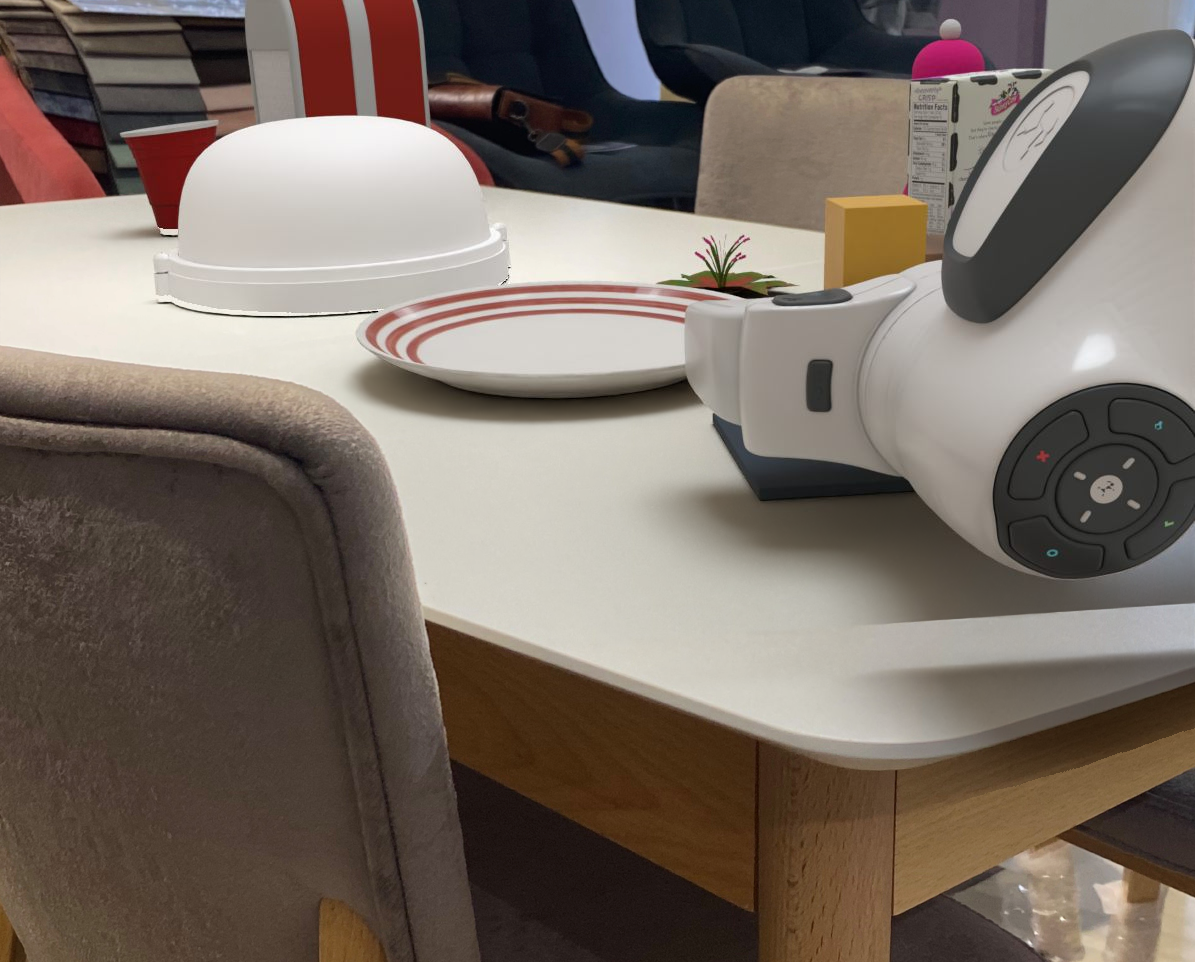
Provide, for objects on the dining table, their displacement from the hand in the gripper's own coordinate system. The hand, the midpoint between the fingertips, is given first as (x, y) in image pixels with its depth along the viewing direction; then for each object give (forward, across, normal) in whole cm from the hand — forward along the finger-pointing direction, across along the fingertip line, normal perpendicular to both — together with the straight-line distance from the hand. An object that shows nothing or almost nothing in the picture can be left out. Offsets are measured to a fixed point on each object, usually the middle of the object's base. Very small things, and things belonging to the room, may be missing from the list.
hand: (866, 308), depth 72 cm
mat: (-1, 0, +7) cm, 7 cm away
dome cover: (+59, +32, +8) cm, 68 cm away
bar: (-1, 0, +7) cm, 7 cm away
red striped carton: (+122, +36, +8) cm, 128 cm away
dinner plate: (+22, +14, +8) cm, 27 cm away
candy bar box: (+40, -19, +8) cm, 45 cm away
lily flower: (+45, 0, +8) cm, 46 cm away
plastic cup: (+99, +53, +8) cm, 113 cm away
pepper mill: (+55, -21, +8) cm, 59 cm away
